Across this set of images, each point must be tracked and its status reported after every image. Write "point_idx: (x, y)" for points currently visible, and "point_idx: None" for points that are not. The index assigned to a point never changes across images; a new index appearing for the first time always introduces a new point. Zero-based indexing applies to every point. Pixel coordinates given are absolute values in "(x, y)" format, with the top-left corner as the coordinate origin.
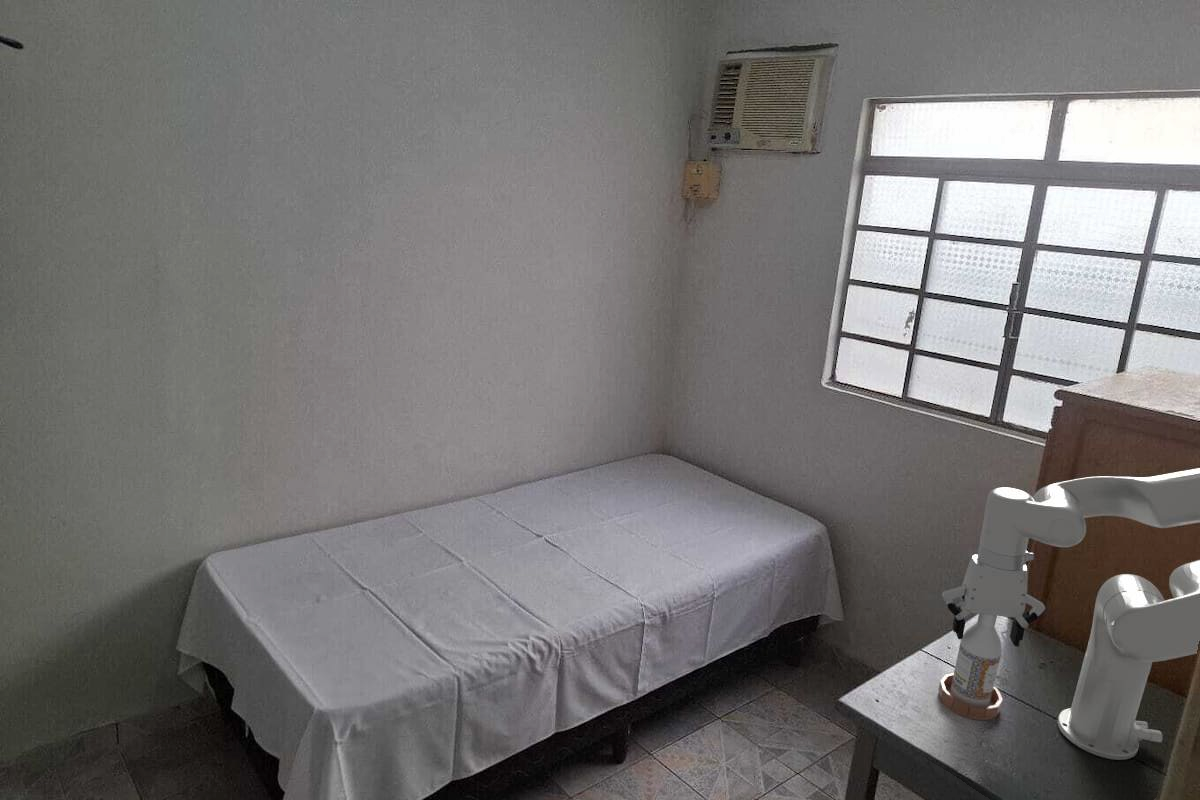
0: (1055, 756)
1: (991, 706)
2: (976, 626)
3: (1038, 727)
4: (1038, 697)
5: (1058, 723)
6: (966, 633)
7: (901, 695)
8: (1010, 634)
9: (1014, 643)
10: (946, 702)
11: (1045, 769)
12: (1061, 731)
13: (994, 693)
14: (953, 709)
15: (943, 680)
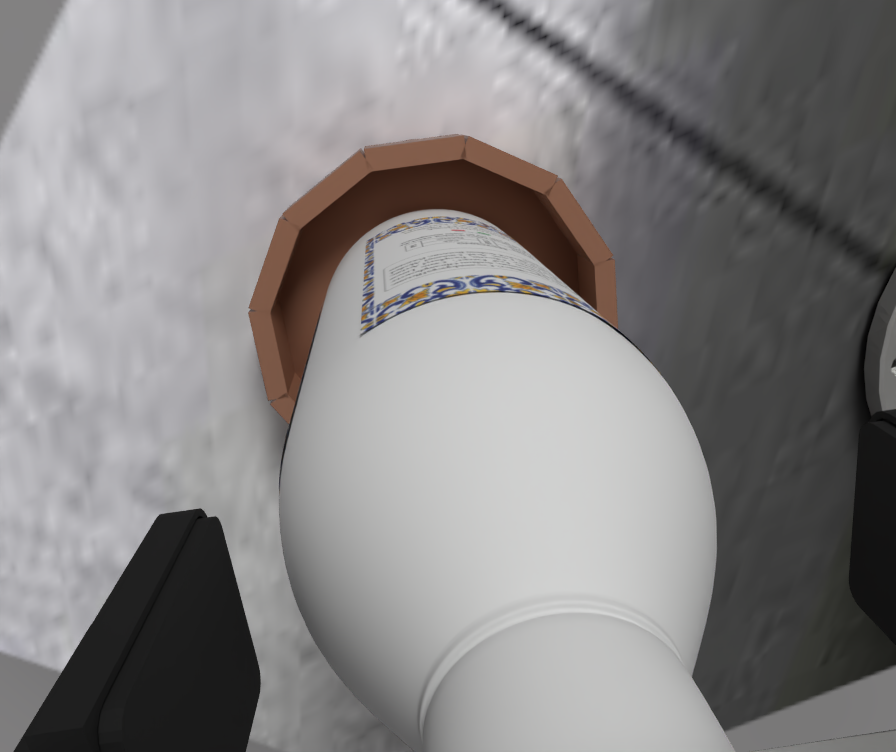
0: (773, 555)
1: None
2: (407, 739)
3: (761, 381)
4: (851, 86)
5: (875, 343)
6: (304, 600)
7: (60, 408)
8: (887, 439)
9: (866, 604)
10: None
11: (705, 648)
12: (866, 385)
13: (584, 256)
14: None
15: (268, 297)
